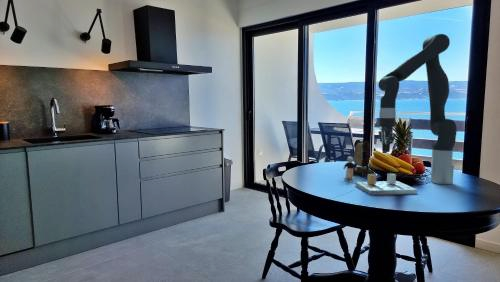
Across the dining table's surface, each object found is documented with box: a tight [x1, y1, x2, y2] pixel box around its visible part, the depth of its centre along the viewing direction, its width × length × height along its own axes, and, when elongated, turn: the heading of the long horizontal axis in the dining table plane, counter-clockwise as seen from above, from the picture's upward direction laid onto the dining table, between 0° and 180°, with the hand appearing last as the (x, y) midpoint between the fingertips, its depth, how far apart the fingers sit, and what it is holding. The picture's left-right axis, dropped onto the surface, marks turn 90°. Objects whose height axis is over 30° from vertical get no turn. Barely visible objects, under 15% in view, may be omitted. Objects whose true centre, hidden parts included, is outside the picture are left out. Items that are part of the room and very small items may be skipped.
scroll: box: [353, 139, 375, 177], centre depth 194 cm, size 15×15×20 cm
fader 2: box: [386, 173, 397, 184], centre depth 162 cm, size 3×3×5 cm
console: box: [355, 180, 418, 196], centre depth 158 cm, size 22×17×2 cm
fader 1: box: [366, 173, 377, 184], centre depth 161 cm, size 3×3×5 cm
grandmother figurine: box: [343, 156, 358, 181], centre depth 181 cm, size 8×4×13 cm, turn 62°
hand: (385, 151), depth 167 cm, fingers closed
